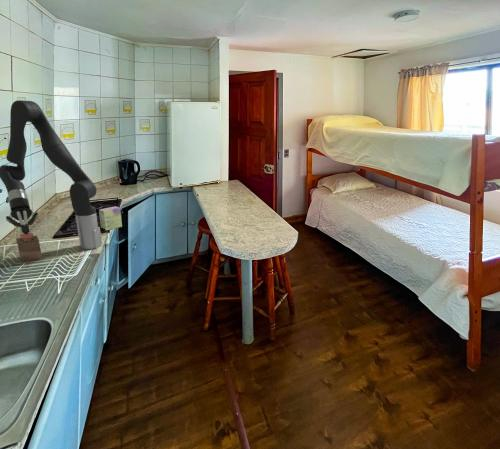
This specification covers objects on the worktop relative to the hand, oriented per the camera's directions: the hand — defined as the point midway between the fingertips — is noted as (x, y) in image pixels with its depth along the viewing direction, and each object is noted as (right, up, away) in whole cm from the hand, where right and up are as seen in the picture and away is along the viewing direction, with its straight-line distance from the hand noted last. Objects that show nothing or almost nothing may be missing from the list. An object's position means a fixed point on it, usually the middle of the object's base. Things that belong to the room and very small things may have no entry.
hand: (26, 233), depth 152 cm
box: (+19, +2, +47) cm, 51 cm away
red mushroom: (0, -10, +3) cm, 10 cm away
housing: (0, -12, +4) cm, 12 cm away
